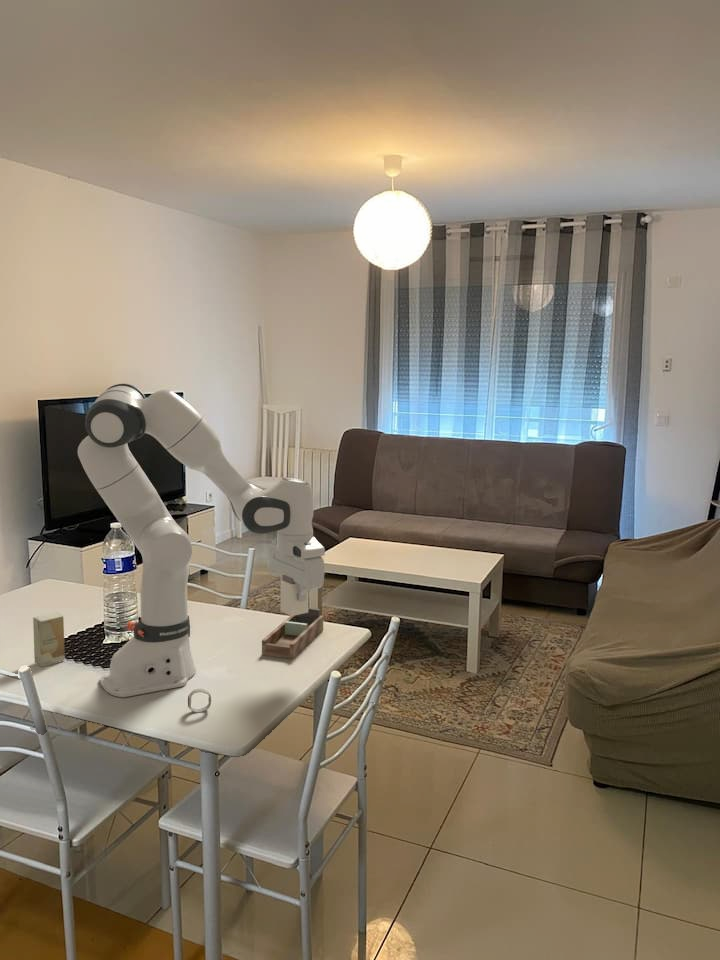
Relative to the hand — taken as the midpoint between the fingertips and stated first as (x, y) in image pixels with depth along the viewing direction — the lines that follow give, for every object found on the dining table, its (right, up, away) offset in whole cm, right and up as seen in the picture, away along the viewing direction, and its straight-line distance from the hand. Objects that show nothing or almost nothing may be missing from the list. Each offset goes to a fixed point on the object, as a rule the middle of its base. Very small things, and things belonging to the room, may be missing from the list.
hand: (294, 597), depth 178 cm
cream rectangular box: (0, -4, +1) cm, 4 cm away
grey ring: (-19, -22, -19) cm, 35 cm away
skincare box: (-63, -18, +6) cm, 66 cm away
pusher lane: (-2, -16, +22) cm, 27 cm away
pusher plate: (-2, -14, +23) cm, 27 cm away
